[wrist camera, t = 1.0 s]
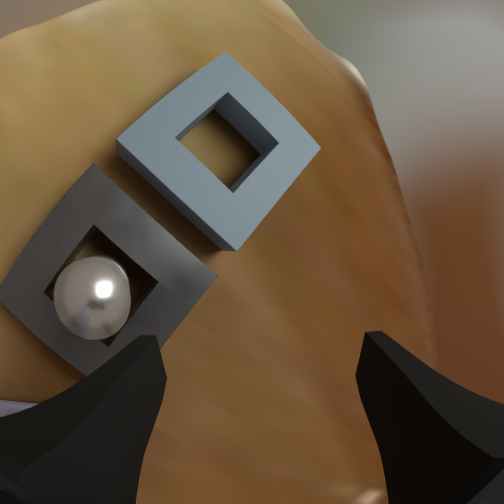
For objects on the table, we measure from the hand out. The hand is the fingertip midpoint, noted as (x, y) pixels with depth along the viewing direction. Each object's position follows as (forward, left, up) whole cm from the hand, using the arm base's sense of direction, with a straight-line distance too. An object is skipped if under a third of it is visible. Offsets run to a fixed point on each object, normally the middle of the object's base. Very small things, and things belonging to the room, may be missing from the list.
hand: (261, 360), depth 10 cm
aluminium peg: (-6, +2, -11) cm, 13 cm away
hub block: (+2, +11, -11) cm, 16 cm away
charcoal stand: (-6, +2, -11) cm, 13 cm away
